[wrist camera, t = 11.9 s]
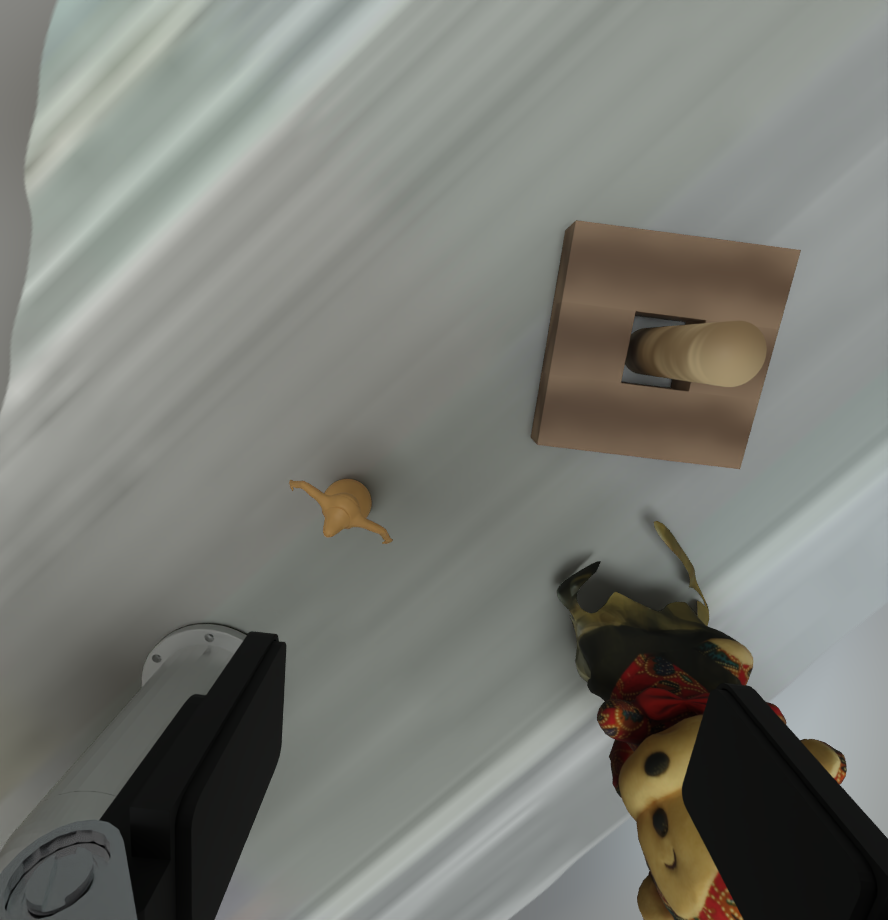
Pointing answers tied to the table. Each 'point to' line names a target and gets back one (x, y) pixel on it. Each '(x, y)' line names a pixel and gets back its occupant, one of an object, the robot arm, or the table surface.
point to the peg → (699, 352)
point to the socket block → (609, 329)
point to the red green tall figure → (663, 729)
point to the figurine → (344, 506)
